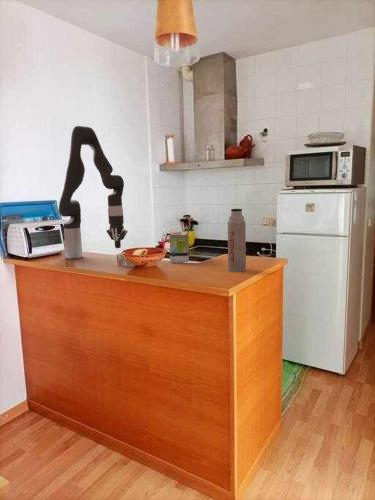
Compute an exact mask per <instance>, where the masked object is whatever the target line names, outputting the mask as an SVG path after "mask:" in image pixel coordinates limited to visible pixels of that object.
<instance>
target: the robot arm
mask: <svg viewBox="0 0 375 500" xmlns="http://www.w3.org/2000/svg"><path fill="white" fill-rule="evenodd" d="M70 136H71V137H70V147H69V148H70V149H69V157H68V163H67V164H68V165H67V166H66V167H67V168H66V173H65V180H64V184H63V190H62V192H61V193H62V194H61V196H60V200H59V203H58V204H59V205H58V213H59V215H60V216H61V217H69V219H68V220H67V221H66V222H64V223H63V224H62V225H63V237H64V241H63V248H64V257H65V259H80V258H82V257H83V244H82V233H81V232H82V230H81V224H82V214H81V213H82V212H81V204H80V202H79V201H78V200H77V199H72V198H73V195H74V194H75V192H76V190H77V191H78V188H79V187H80V186H81V185H82V183H83V181H84V177H85V172H86V168H85V165H84V162H83V159H82V156H81V155H82V154H81V153H82V152H81V151H82V146H88V147H90V149H91V150H92V153H93V155H92V160H93V164H94V166H95V168H96V170H97V171H98V173H99V174H100V175H99V176H100V179H101V182H102V185H103V186H104V187H105V188H106V190H107V189H108V190H112V193H111V194H109V195H107V207H108V208H107V215H108V224H109V228H108V229H106V233H107V235H108V237H109V238H110V239H111V240H112V241H114V248H115V249H120V248H121V247H122V245H121V244H122V243H121V241H123V240H124V239H125V237H126V236H127V234H128V230H127V229H125V228H124V223H125V221H124V208H123V201H122V200H123V199H122V196H123V194H124V185H125V182H124V181H125V180H124V179H123V177H122V176H121V175H119V174H118V175H117V174H112V173H113V171H114V168H113V166H112V164H111V163H110V161H109V160H108V158H107V157H106V154H105V153H104V151H103V148H102V146H101V143H100V141H99V139H98V136H97V134H96V131H95V130H94V129H93V127H89V126H83V125H82V126H81V125H76V126H74V127H73V129H72V131H71V135H70Z"/></svg>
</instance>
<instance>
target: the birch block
mask: <svg viewBox="0 0 375 500" xmlns="http://www.w3.org/2000/svg"><path fill="white" fill-rule="evenodd" d="M122 253H123V252H121V253H116V266H123V265H124V266H125V267H132V266H133V268H135V267H134V265H133V264H132V263H131V262H129V261H128V260H127V259H125V258H124V256H123V255H122Z"/></svg>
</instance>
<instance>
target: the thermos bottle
mask: <svg viewBox="0 0 375 500" xmlns="http://www.w3.org/2000/svg"><path fill="white" fill-rule="evenodd" d="M246 228H247V227H246V221H245V217H244V215H243V208H231V210H230V215H229V216H228V221H227V247H228V248H227V266H228V267H227V268H228V271H229V272H233V273H235V272H236V273H239V272H245V271H246V270H247V267H246V266H247V265H246V263H247V259H246V257H247V255H246V254H247V253H246V250H247V249H246V246H247V245H246V244H247V243H246V242H247V241H246V237H247V236H246V233H247V232H246V231H247V230H246Z"/></svg>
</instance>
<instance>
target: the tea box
mask: <svg viewBox="0 0 375 500" xmlns="http://www.w3.org/2000/svg"><path fill="white" fill-rule="evenodd" d="M189 236H190V233H189V231H171V232H170V233H169V263H175V264H176V263H177V264H178V263H189V260H190V238H189Z"/></svg>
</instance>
